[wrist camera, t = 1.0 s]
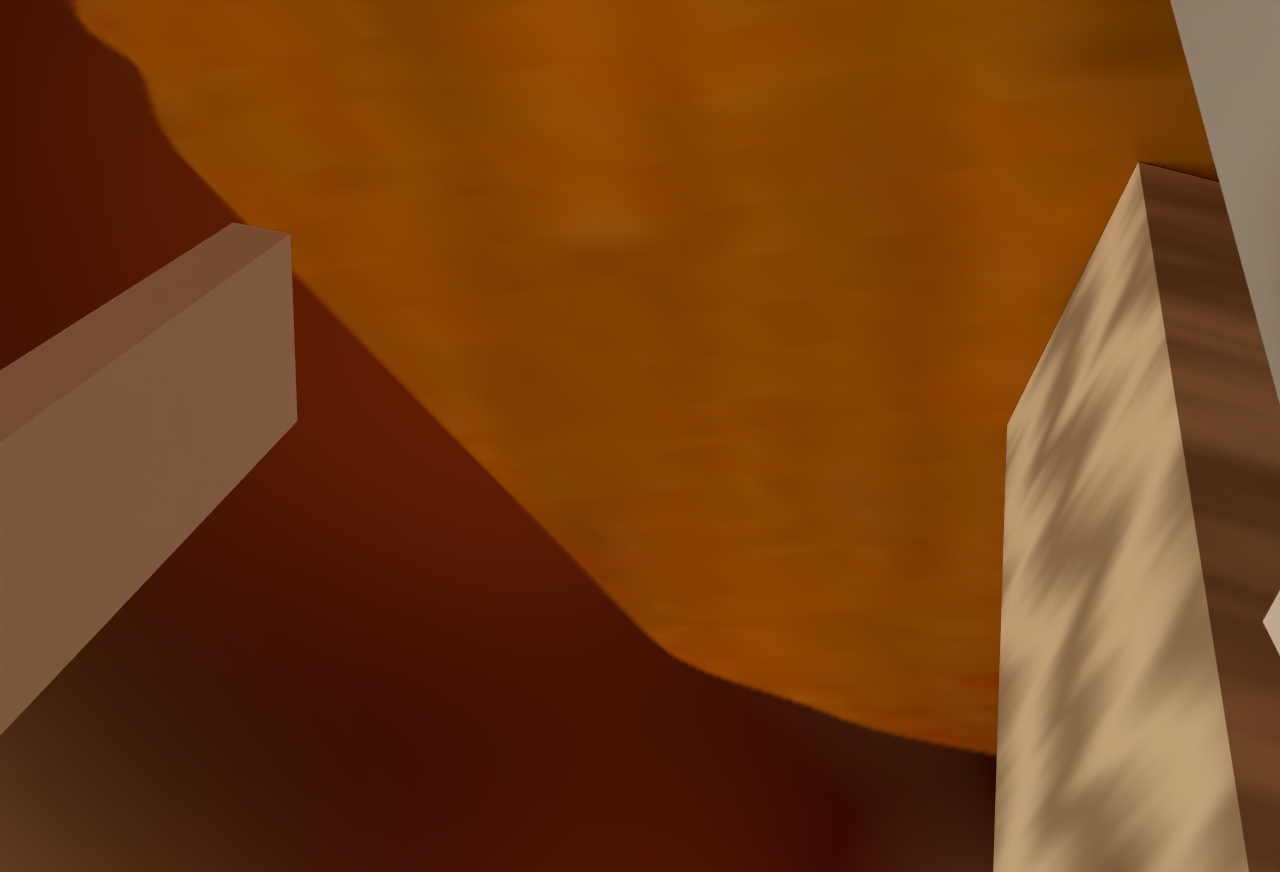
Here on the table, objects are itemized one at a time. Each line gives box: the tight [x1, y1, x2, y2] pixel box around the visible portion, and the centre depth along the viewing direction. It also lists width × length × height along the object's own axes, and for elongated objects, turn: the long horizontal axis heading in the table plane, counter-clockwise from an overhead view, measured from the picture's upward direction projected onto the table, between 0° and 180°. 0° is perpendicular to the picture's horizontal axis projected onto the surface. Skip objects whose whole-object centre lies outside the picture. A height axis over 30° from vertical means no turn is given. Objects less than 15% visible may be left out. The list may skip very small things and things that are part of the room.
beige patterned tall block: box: [993, 162, 1280, 872], centre depth 28 cm, size 12×7×32 cm, turn 174°
